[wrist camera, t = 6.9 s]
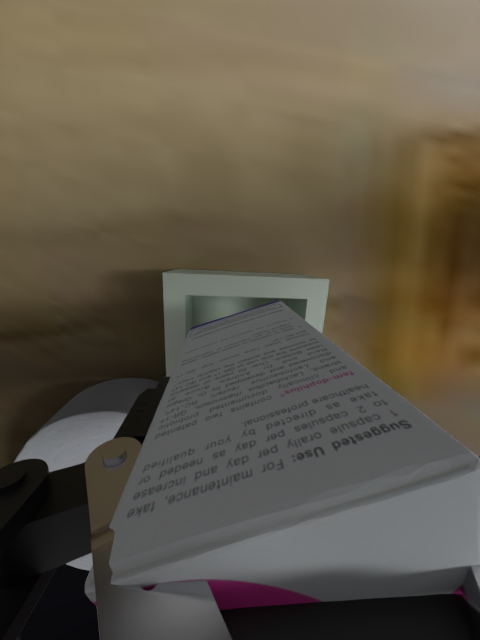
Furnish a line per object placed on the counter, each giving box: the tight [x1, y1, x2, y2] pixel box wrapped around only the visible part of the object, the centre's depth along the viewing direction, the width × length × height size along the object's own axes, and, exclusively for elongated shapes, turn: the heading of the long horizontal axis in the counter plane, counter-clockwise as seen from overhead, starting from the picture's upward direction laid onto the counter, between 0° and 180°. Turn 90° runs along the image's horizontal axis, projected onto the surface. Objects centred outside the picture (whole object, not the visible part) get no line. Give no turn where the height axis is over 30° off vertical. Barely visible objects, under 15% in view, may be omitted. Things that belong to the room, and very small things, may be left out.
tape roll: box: [13, 378, 159, 570], centre depth 20 cm, size 15×15×5 cm
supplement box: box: [85, 300, 480, 610], centre depth 9 cm, size 6×6×12 cm
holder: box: [163, 269, 330, 377], centre depth 18 cm, size 10×10×5 cm
